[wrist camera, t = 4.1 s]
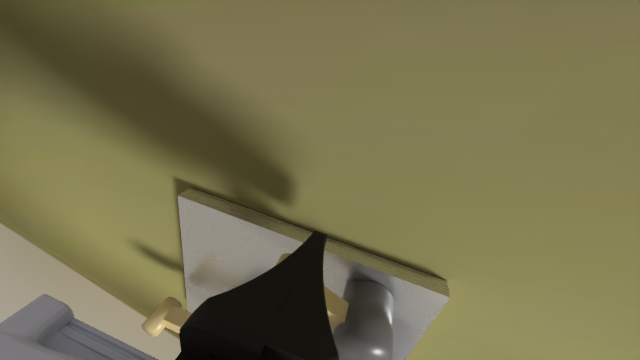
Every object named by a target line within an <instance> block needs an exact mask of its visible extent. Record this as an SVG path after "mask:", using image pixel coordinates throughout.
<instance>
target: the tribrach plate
mask: <svg viewBox="0 0 640 360" xmlns="http://www.w3.org/2000/svg"><path fill="white" fill-rule="evenodd" d="M178 204H179V216H180V228H181V239H182V251H183V263H184V274H185V286H186V298H187V309H188V312H190V313H193V312H194V311H195V310H196V309H197V308H198V307H199V306H200V305H201V304H202V303H203V302H204V301H205V300H206V299H207V298H209V297H212V296H215V295H218V294H220V293H223V292H226V291H228V290H231V289H233V288H235V287H238V286H240V285H242V284H244V283H246V282H248V281H250V280H252V279H254V278H256V277H258V276H259V275H261V274H263V273H265V272H266V271H268V270H270V269H271V268H273V267H274V266H275V265H276V263H277V261H278V260H279V258H280V256H281V255H282V254H285V253H290V254H292V253H293V252H294V251H295V250H296V249H297V248H298V247H300V246H301V245H302V244H303V243H304V242H305V241H306V240H307V239H308V238H309V237H310V236H311V235H312V233H313V232H311V231H308V230H306V229H303V228H300V227H297V226H295V225H292V224H289V223H287V222H284V221H281V220H278V219H276V218H273V217H270V216H267V215H265V214H262V213H259V212H256V211H254V210H251V209H248V208H246V207H243V206H240V205H237V204H235V203H232V202H229V201H226V200H224V199H221V198H218V197H215V196H213V195H210V194H207V193H204V192H202V191H199V190H196V189H194V188H191V187H190V188H189V189H187V190H186V191H184V192H182V193H181V194H179V195H178ZM323 278H324V286H325V287H327V288H328V289H329V290H331V291H332V292H334V293H335V294H336V295H338V296H339V297H341V298H342V297H343V293H344V290H345V288H346V287H347V286H348V285H349V284H350V283H352V282H355V281H361V280H365V281H371V282H375V283H377V284H380V285H382V286H383V287H385V288H386V289H387V290H388V291H389V292H390V293H391V294H392V296H393V298H394V301H395V311H394V332H393V353H392V360H406V359H407V357H408V356H409V354H410V353H411V352H412V350H413V349H414V347H415V346H416V345H417V343H418V342H419V340H420V339H421V338H422V336H423V335H424V333H425V332H426V331H427V329H428V328H429V326H430V325H431V324H432V322H433V321H434V319H435V318H436V317H437V315H438V314H439V312H440V311H441V310H442V308H443V307H444V305H445V304H446V303H447V301H448V300H449V298H450V294H449V288H448V282H447V281H445V280H442V279H440V278H437V277H434V276H431V275H429V274H426V273H423V272H421V271H418V270H415V269H412V268H410V267H407V266H404V265H401V264H399V263H396V262H393V261H390V260H388V259H385V258H382V257H379V256H377V255H374V254H371V253H369V252H366V251H363V250H360V249H358V248H355V247H352V246H349V245H347V244H344V243H341V242H338V241H336V240H333V239H330V238H327V241H326V244H325V249H324V260H323ZM331 330H332V334H333V332H334V329H333V328H331Z"/></svg>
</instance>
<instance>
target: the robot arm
mask: <svg viewBox="0 0 640 360" xmlns="http://www.w3.org/2000/svg"><path fill="white" fill-rule="evenodd" d="M327 238H328V237H327V235H326V234H323V233H321V232H318V231H314V232H313V233H312V235H311V236H310V237H309V238H308V239H307V240H306V241H305V242H304V243H303V244H302V245H301V246H300V247H298V248H297V249H296V250H295V251H294V252H293V253H292V254H290V255H289V256H288V257H286V258H285V259H284V260H283V261H281V262H280V263H278V264H277V265H276V266H274V267H273V268H271V269H270V270H268V271H266V272H265V273H263V274H261V275H259V276H258V277H256V278H254V279H252V280H250V281H248V282H246V283H244V284H242V285H240V286H238V287H235V288H233V289H231V290H228V291H226V292H223V293H220V294H218V295H215V296H212V297H209V298H207V299H206V300H205V301H204V302H203V303H202V304H201V305H200V306H199V307H198V308H197V309H196V310H195V311H194V312H193V313H192V314H191V315H190V317H189V318H188V319H187V321H186V322H185V323H184V324H183V326H182V327H181V328H180V332H179V336H180V343H181V353H180V354H179V355H178V357H177V358H176V359H175V360H339V354H338V351H337V348H336V344H335V341H334V337H333V334H332V330H331V326H330V321H329V316H328V311H327V306H326V299H325V291H324V278H323V260H324V249H325V244H326V241H327ZM0 360H158V359H156V358H154V357H152V356H150V355H148V354H146V353H144V352H142V351H140V350H138V349H136V348H134V347H132V346H130V345H128V344H126V343H124V342H122V341H120V340H118V339H116V338H114V337H112V336H110V335H108V334H106V333H104V332H102V331H100V330H98V329H96V328H94V327H91V326H90V325H88V324H86V323H84V322H82V321H80V320H78V319H76V318H74V314H73V312H72V310H71V309H70V307H69V306H68V305H66V304H65V303H63V302H61V301H59V300H57V299H55V298H53V297H51V296H49V295H47V294H43V295H41V296H40V297H38V298H37V299H35V300H34V301H33V302H31V303H29V304H28V305H27V306H25V307H24V308H22V309H21V310H20V311H18V312H16V313H15V314H13V315H12V316H10V317H9V318H7V319H6V320H4V321H3V322H1V323H0Z"/></svg>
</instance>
